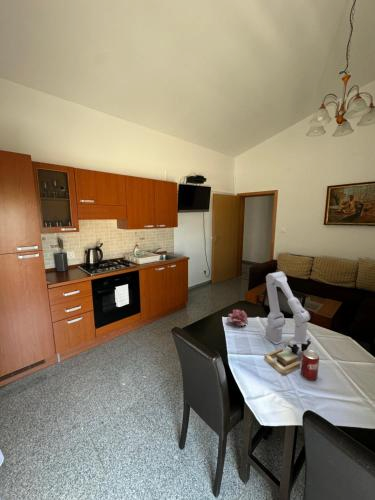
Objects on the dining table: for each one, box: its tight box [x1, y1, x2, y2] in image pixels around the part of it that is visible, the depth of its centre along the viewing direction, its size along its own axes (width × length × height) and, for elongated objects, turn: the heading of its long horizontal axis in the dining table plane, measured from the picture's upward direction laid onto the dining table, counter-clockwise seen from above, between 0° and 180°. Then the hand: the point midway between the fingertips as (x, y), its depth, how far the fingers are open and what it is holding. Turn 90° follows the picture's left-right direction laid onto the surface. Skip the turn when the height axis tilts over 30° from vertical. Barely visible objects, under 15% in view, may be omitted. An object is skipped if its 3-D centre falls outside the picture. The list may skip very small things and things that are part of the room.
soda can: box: [300, 349, 320, 381], centre depth 105 cm, size 7×7×12 cm
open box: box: [275, 348, 300, 367], centre depth 116 cm, size 7×9×4 cm
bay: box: [263, 348, 302, 376], centre depth 114 cm, size 13×12×3 cm
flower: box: [226, 309, 249, 328], centre depth 155 cm, size 15×15×10 cm
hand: (299, 353), depth 120 cm, fingers open, 7 cm apart
